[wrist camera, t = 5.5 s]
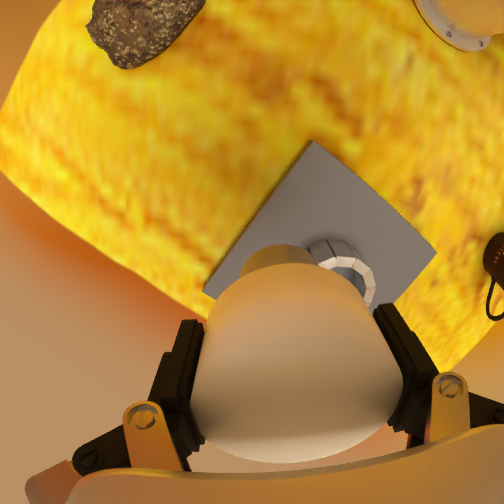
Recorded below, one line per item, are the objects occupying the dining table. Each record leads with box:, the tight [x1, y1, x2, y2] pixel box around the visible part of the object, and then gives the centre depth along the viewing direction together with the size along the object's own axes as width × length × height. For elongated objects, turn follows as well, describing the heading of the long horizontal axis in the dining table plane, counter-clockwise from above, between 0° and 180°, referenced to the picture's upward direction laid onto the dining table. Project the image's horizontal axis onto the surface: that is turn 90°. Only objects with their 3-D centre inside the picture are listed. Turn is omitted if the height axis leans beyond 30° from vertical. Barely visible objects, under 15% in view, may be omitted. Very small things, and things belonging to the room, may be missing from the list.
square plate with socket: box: [202, 140, 437, 316], centre depth 31 cm, size 20×20×6 cm
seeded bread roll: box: [85, 0, 205, 69], centre depth 21 cm, size 13×12×5 cm
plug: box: [190, 244, 403, 463], centre depth 12 cm, size 7×7×8 cm
